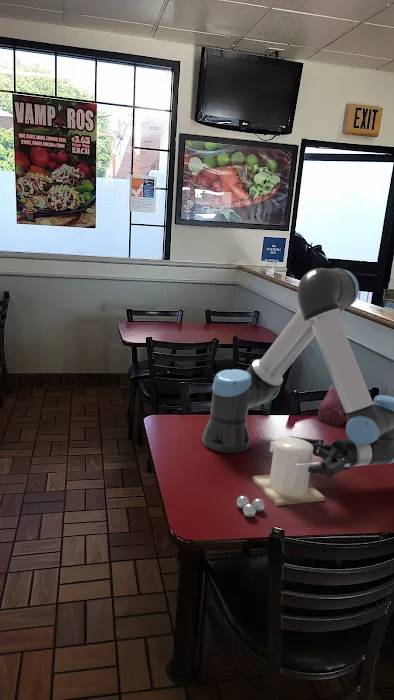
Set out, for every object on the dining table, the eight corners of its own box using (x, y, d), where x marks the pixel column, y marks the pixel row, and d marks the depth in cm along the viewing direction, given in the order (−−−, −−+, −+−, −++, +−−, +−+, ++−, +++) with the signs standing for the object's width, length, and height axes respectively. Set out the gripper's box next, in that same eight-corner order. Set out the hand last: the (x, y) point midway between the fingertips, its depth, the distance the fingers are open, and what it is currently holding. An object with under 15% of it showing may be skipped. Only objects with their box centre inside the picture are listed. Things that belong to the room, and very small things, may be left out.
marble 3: (249, 507, 123) (250, 496, 123) (260, 506, 124) (261, 495, 124) (254, 514, 121) (256, 503, 120) (265, 513, 122) (267, 501, 121)
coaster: (252, 479, 138) (252, 476, 138) (296, 475, 143) (296, 472, 143) (276, 505, 125) (277, 502, 125) (324, 500, 130) (324, 497, 130)
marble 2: (240, 513, 120) (241, 502, 120) (251, 512, 121) (253, 500, 121) (245, 520, 118) (247, 508, 117) (257, 518, 119) (258, 507, 118)
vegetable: (313, 423, 196) (310, 385, 196) (339, 421, 197) (336, 383, 197) (322, 426, 186) (319, 386, 186) (349, 424, 187) (346, 384, 187)
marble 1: (234, 505, 124) (235, 494, 123) (245, 503, 125) (246, 492, 124) (239, 511, 121) (240, 500, 120) (250, 510, 122) (251, 499, 121)
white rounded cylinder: (262, 478, 137) (268, 438, 134) (294, 476, 140) (300, 436, 138) (280, 497, 128) (286, 453, 125) (314, 493, 131) (320, 451, 128)
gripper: (377, 486, 128) (306, 494, 120) (323, 446, 150) (259, 450, 143) (383, 459, 126) (310, 465, 119) (326, 423, 149) (263, 426, 142)
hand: (282, 457), depth 131 cm, fingers open, 13 cm apart
